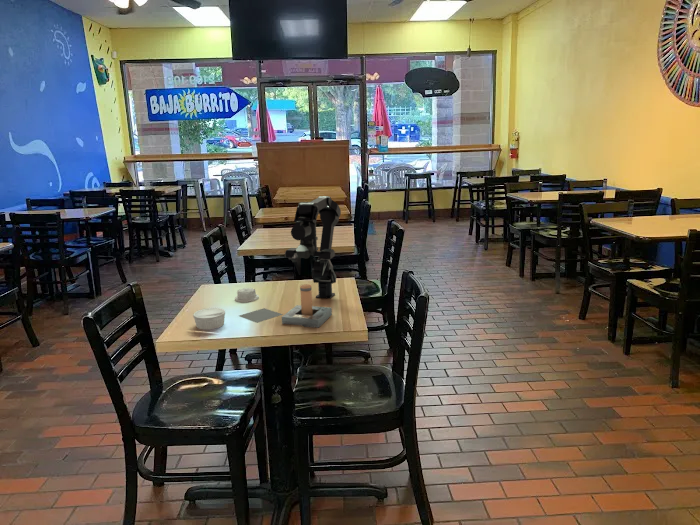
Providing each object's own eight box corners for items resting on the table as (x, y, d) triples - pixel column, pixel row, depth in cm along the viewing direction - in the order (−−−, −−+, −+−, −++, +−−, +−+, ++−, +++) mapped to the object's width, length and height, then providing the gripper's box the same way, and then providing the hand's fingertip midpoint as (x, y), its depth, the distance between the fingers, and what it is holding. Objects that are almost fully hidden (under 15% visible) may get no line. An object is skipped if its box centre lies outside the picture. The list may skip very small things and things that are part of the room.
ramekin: (209, 334, 185) (208, 319, 183) (187, 328, 191) (186, 314, 189) (232, 324, 194) (231, 310, 192) (211, 319, 200) (210, 306, 198)
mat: (264, 309, 209) (264, 308, 209) (283, 315, 201) (283, 314, 201) (238, 317, 201) (238, 315, 201) (257, 323, 193) (257, 322, 193)
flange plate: (297, 312, 204) (296, 304, 203) (331, 315, 200) (331, 307, 199) (282, 324, 191) (281, 316, 190) (318, 327, 187) (318, 319, 186)
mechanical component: (252, 304, 217) (263, 297, 227) (251, 294, 216) (262, 287, 226) (230, 303, 220) (242, 296, 229) (229, 292, 219) (241, 286, 228)
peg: (300, 318, 197) (298, 284, 194) (311, 317, 198) (309, 283, 195) (303, 322, 193) (301, 287, 190) (314, 320, 194) (312, 286, 191)
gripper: (277, 238, 199) (280, 279, 203) (324, 240, 194) (326, 281, 197) (289, 233, 210) (291, 272, 213) (334, 234, 204) (336, 274, 208)
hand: (310, 275), depth 208 cm, fingers open, 9 cm apart
